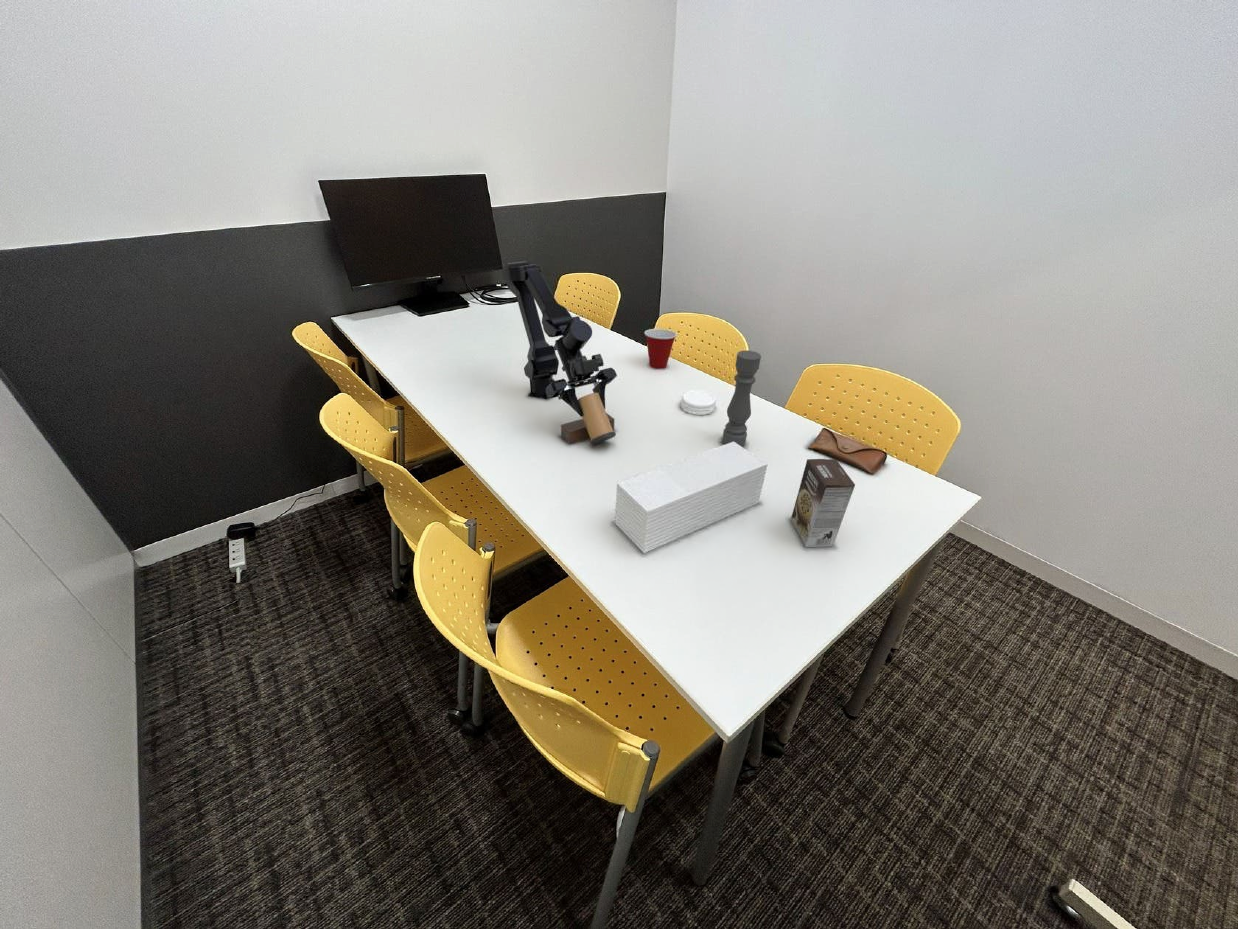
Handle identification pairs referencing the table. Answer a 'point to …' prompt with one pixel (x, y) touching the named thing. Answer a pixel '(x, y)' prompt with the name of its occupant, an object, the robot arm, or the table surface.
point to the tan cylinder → (595, 418)
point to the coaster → (698, 402)
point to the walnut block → (578, 430)
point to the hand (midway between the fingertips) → (593, 413)
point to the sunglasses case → (849, 451)
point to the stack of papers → (688, 495)
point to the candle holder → (741, 398)
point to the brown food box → (821, 502)
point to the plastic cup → (659, 346)
